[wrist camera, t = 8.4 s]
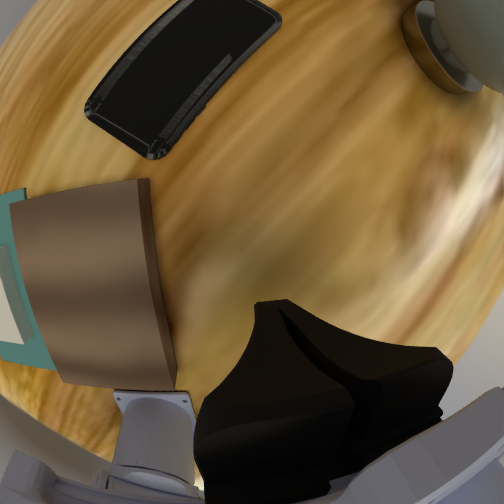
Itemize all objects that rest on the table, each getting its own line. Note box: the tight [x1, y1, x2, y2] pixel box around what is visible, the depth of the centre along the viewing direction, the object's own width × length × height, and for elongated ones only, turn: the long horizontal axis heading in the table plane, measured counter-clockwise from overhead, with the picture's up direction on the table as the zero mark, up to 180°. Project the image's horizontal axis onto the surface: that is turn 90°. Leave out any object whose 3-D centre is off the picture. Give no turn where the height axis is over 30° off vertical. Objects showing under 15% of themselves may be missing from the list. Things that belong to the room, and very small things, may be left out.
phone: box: [84, 0, 282, 160], centre depth 15 cm, size 8×1×15 cm
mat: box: [0, 188, 57, 371], centre depth 17 cm, size 18×12×1 cm, turn 2°
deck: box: [9, 178, 178, 391], centre depth 17 cm, size 16×11×3 cm
